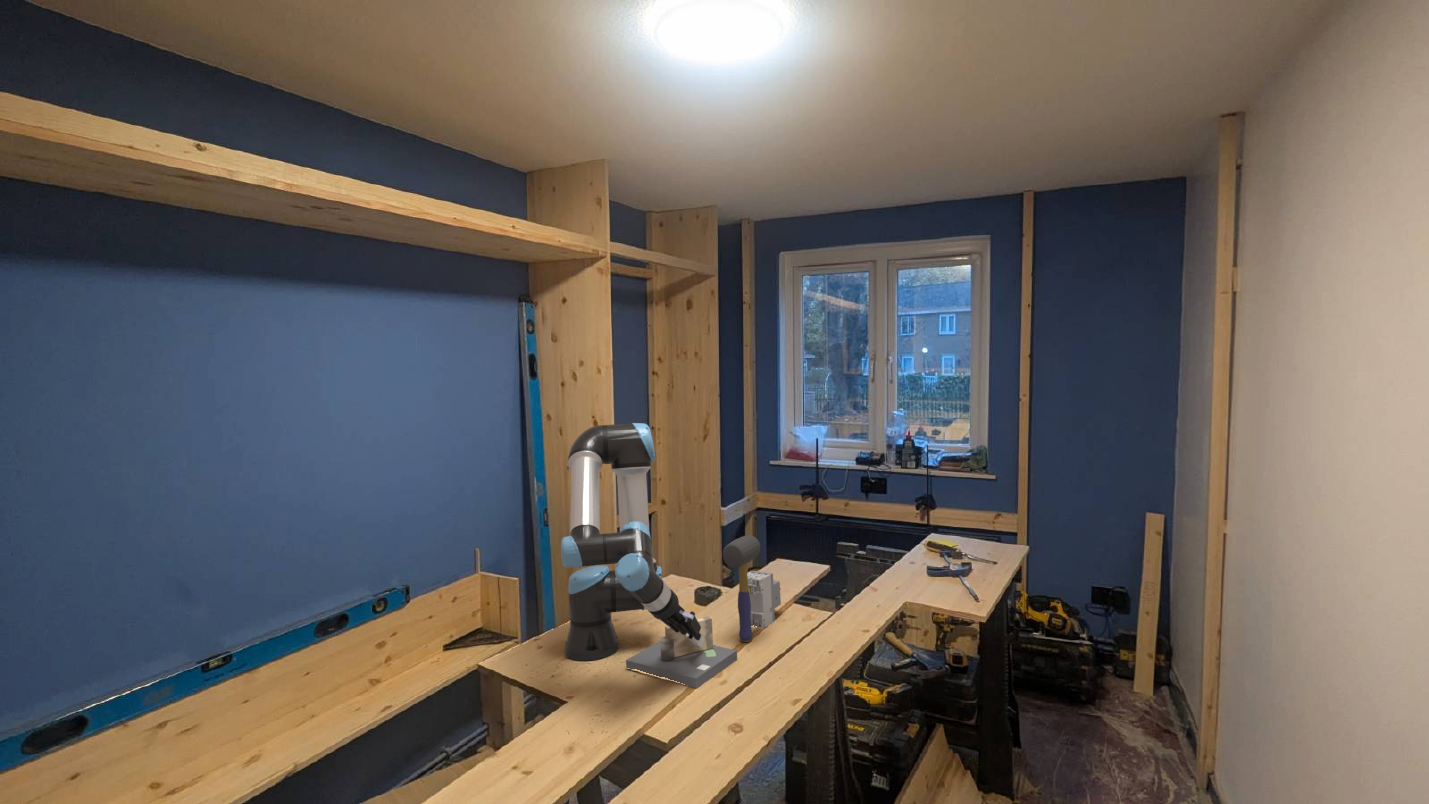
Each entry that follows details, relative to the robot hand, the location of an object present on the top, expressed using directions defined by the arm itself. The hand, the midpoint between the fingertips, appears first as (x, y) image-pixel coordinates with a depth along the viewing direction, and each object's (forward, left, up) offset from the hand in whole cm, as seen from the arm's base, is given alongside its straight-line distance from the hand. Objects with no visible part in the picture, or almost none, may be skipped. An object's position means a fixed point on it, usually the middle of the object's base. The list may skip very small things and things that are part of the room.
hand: (700, 642), depth 171 cm
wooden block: (-3, -2, -3) cm, 5 cm away
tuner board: (-4, -3, -6) cm, 8 cm away
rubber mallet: (+3, +18, -6) cm, 19 cm away
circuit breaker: (-1, +35, -6) cm, 36 cm away
